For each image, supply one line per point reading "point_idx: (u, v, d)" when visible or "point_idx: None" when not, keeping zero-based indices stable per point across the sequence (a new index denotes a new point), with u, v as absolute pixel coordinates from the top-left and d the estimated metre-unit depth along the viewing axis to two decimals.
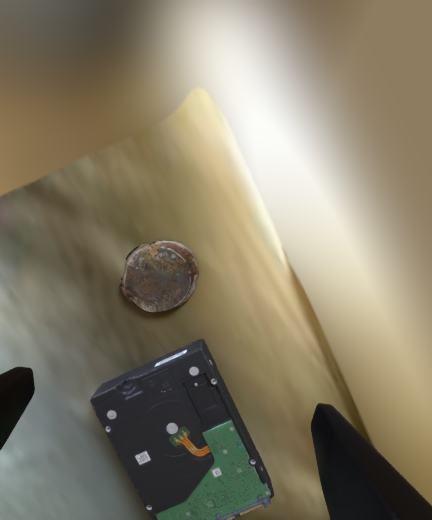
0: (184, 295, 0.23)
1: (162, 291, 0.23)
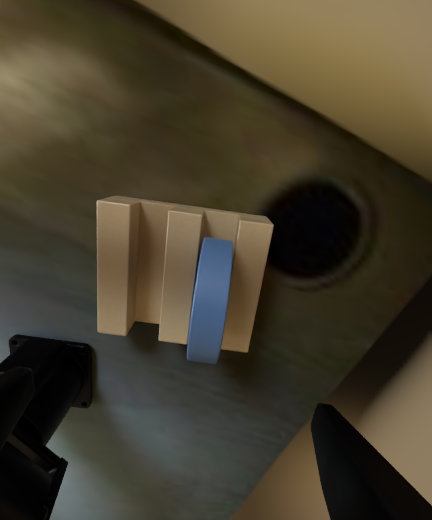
0: None
1: None
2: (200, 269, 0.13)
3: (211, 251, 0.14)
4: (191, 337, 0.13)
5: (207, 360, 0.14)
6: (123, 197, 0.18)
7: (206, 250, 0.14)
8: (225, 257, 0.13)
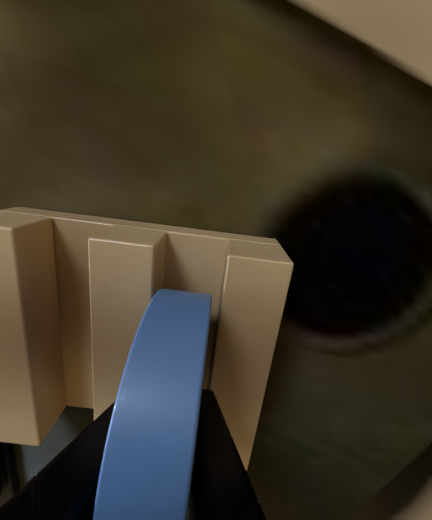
0: None
1: None
2: (122, 401, 0.05)
3: (156, 342, 0.06)
4: None
5: None
6: (26, 210, 0.10)
7: (144, 340, 0.06)
8: (188, 359, 0.06)
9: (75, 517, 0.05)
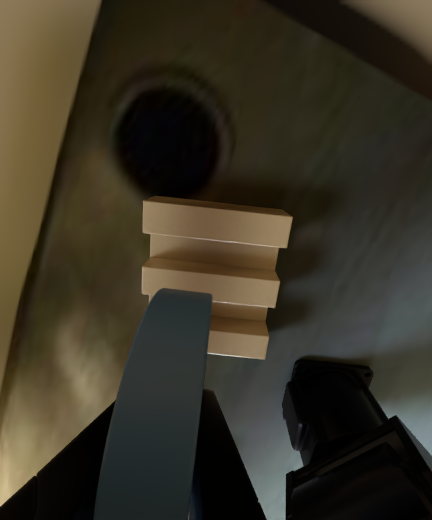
0: None
1: None
2: (122, 401, 0.05)
3: (157, 341, 0.06)
4: None
5: None
6: None
7: (145, 339, 0.06)
8: (188, 358, 0.06)
9: (75, 517, 0.05)
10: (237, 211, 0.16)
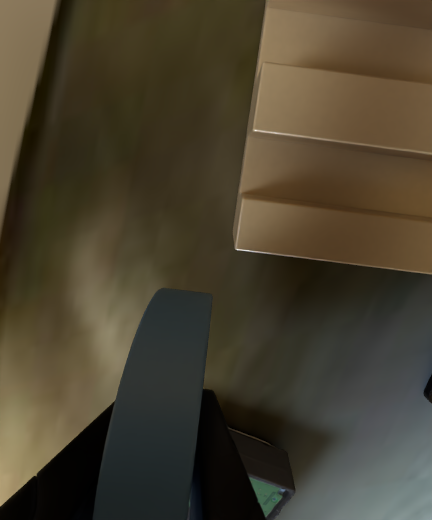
0: None
1: None
2: (122, 400, 0.05)
3: (157, 341, 0.06)
4: None
5: None
6: (234, 220, 0.12)
7: (145, 339, 0.06)
8: (188, 358, 0.06)
9: (75, 517, 0.05)
10: None
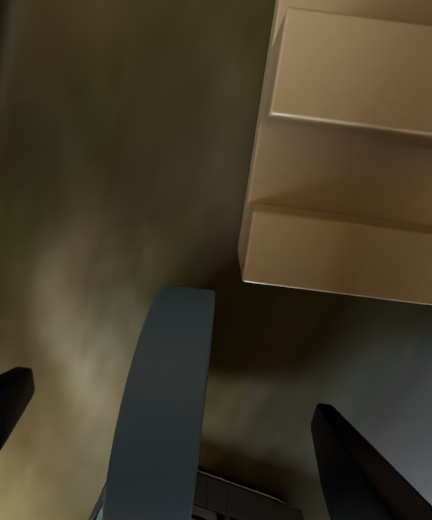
0: None
1: None
2: (131, 391, 0.05)
3: (163, 335, 0.06)
4: None
5: None
6: (240, 236, 0.10)
7: (151, 332, 0.06)
8: (193, 351, 0.06)
9: None
10: None
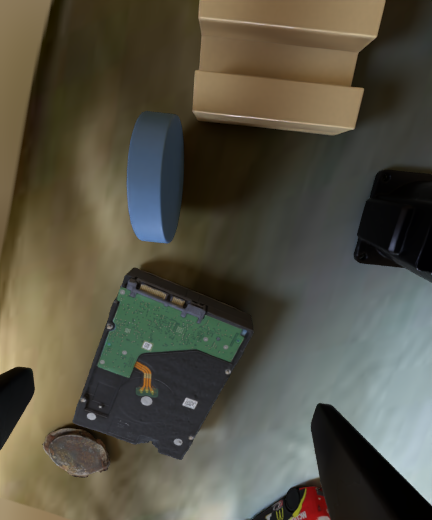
0: (67, 436, 0.26)
1: (80, 449, 0.26)
2: (138, 122, 0.13)
3: (152, 113, 0.13)
4: (129, 188, 0.12)
5: (151, 224, 0.13)
6: None
7: (147, 112, 0.14)
8: (165, 116, 0.13)
9: None
10: None
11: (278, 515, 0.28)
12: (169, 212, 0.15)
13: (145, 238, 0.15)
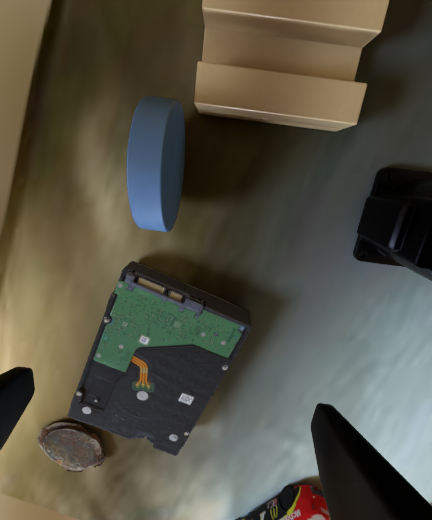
0: (62, 430, 0.26)
1: (74, 443, 0.26)
2: (141, 102, 0.13)
3: (155, 97, 0.14)
4: (129, 166, 0.12)
5: (150, 206, 0.13)
6: None
7: (150, 96, 0.14)
8: (168, 99, 0.13)
9: None
10: None
11: (272, 513, 0.28)
12: (169, 198, 0.15)
13: (143, 223, 0.14)
